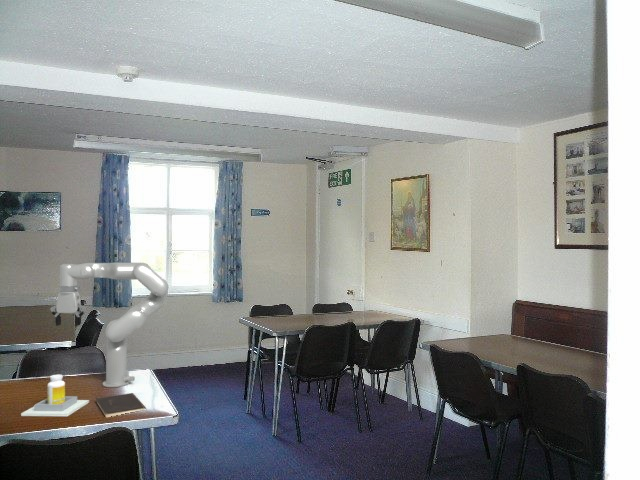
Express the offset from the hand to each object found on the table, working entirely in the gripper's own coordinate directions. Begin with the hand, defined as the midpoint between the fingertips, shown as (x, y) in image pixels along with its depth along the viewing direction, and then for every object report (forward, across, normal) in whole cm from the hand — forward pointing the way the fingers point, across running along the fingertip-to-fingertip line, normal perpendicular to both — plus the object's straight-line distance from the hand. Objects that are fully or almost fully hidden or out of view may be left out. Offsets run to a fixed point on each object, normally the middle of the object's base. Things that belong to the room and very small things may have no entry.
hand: (68, 325), depth 246 cm
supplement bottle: (+30, -11, +30) cm, 43 cm away
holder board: (+30, -11, +30) cm, 44 cm away
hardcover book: (+31, -37, +26) cm, 55 cm away
